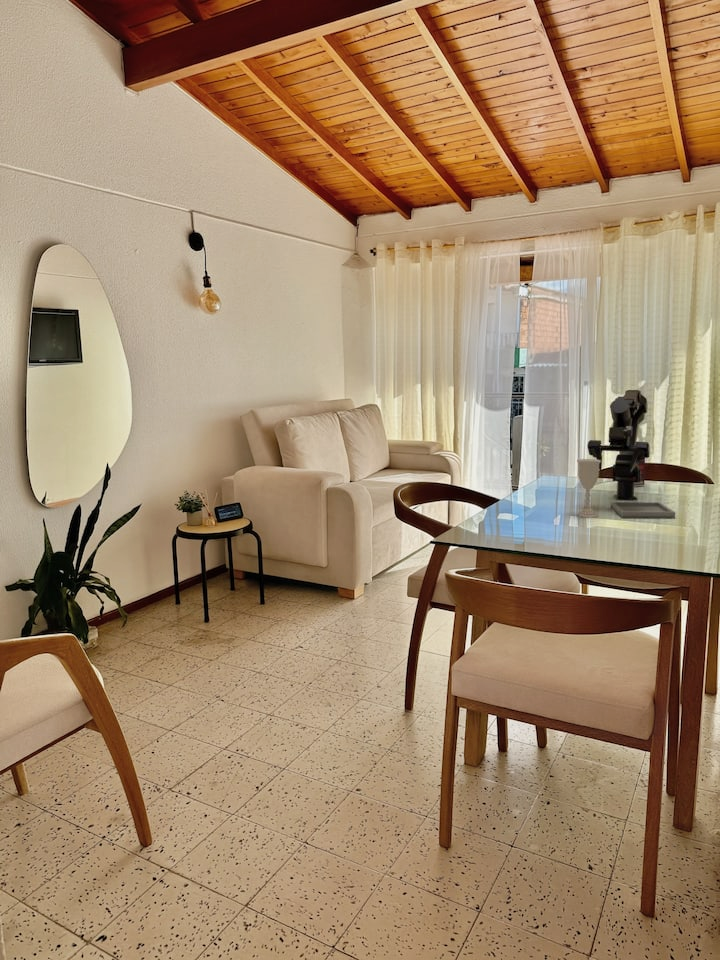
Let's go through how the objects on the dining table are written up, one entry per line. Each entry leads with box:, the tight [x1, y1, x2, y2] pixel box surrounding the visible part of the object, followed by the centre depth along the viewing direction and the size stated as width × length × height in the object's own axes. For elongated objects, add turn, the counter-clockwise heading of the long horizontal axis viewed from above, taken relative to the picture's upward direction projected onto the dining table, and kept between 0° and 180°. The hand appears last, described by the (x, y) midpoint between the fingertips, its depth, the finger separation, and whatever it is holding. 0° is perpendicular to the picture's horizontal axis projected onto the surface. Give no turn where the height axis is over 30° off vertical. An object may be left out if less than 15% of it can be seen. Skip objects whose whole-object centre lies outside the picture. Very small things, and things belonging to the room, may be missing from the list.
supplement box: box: [618, 452, 646, 488], centre depth 264 cm, size 9×5×16 cm, turn 98°
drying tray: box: [609, 501, 676, 519], centre depth 221 cm, size 15×16×2 cm
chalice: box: [576, 458, 601, 518], centre depth 218 cm, size 7×7×18 cm
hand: (614, 471), depth 219 cm, fingers open, 9 cm apart
